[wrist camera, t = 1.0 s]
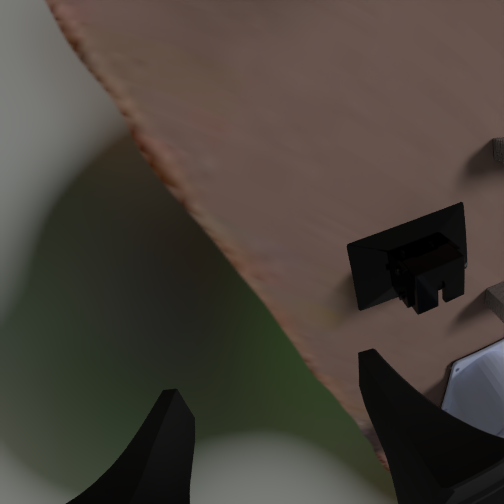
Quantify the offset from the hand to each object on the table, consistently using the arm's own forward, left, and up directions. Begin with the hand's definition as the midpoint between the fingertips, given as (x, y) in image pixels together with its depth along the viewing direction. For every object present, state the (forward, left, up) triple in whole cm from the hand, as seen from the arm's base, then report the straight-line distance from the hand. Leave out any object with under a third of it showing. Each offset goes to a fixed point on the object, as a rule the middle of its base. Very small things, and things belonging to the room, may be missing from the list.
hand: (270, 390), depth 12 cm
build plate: (-2, -11, -10) cm, 15 cm away
